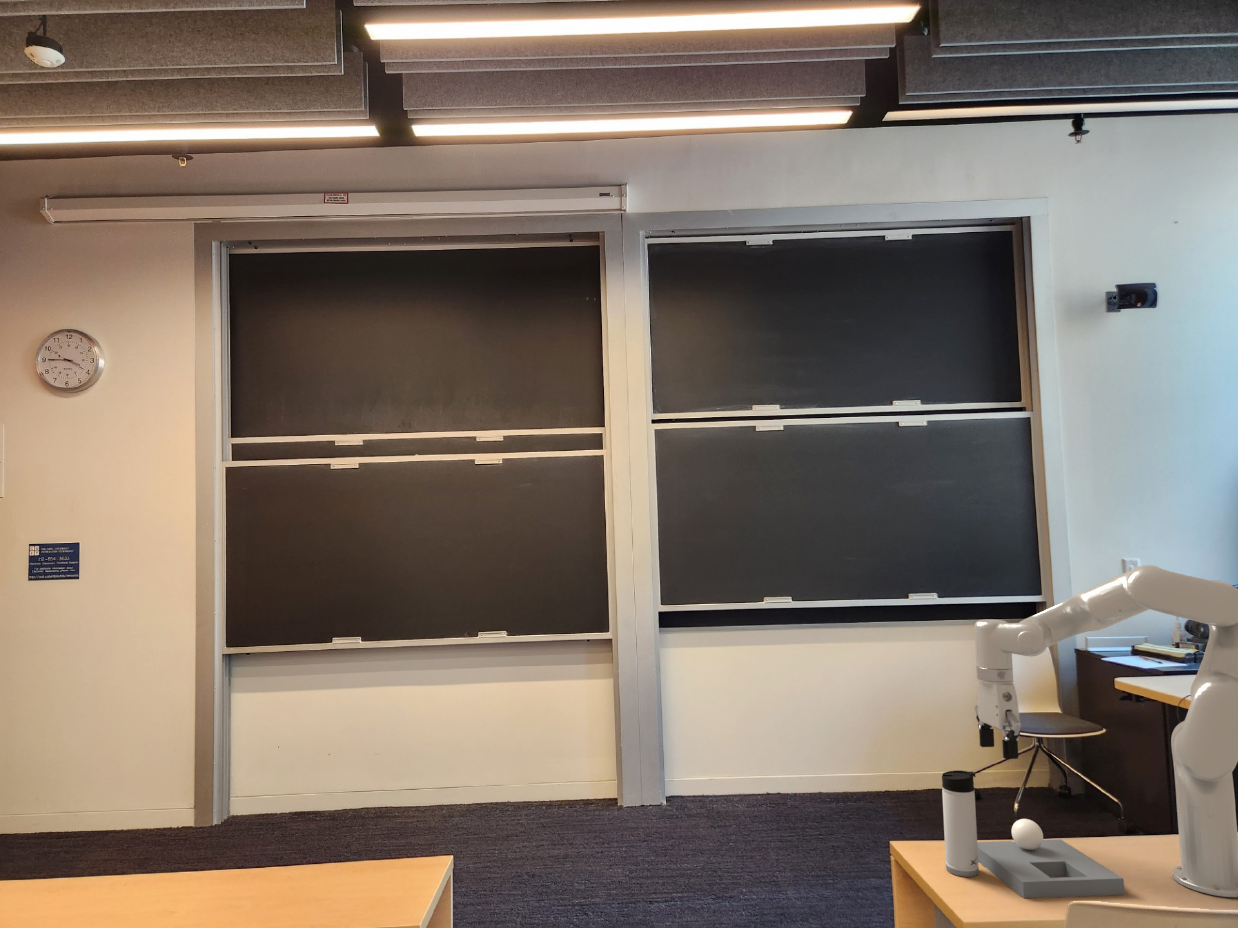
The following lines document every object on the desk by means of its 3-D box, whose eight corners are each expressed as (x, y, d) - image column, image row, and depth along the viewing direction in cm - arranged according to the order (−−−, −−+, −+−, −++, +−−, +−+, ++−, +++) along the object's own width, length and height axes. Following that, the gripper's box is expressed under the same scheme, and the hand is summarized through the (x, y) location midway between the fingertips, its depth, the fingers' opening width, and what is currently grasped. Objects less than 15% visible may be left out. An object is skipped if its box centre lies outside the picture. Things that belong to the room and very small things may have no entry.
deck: (1061, 853, 173) (1060, 839, 173) (1124, 894, 153) (1123, 878, 153) (972, 856, 172) (971, 842, 172) (1023, 898, 152) (1022, 881, 152)
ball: (1033, 842, 171) (1032, 814, 172) (1050, 853, 165) (1048, 824, 166) (1006, 843, 171) (1005, 814, 172) (1022, 854, 165) (1020, 824, 166)
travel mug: (983, 878, 161) (978, 776, 163) (949, 875, 162) (944, 775, 164) (976, 865, 167) (971, 768, 169) (943, 863, 168) (938, 766, 170)
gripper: (1032, 681, 172) (1037, 762, 170) (990, 668, 189) (994, 742, 188) (999, 682, 171) (1003, 763, 170) (960, 668, 189) (963, 742, 187)
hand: (998, 752), depth 179 cm, fingers open, 9 cm apart
